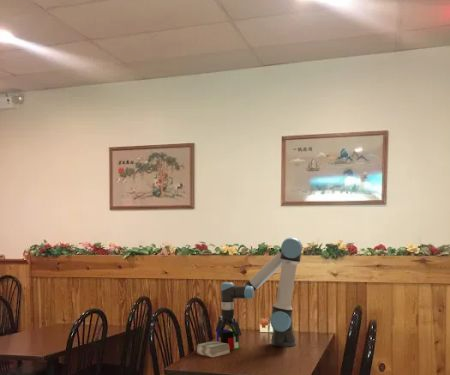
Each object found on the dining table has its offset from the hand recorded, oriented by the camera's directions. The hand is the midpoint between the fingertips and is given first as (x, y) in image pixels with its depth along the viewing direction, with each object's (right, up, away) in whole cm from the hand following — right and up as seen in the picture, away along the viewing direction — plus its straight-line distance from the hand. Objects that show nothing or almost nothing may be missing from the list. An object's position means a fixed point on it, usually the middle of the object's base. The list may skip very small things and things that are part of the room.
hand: (228, 346), depth 278 cm
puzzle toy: (0, -1, 0) cm, 1 cm away
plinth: (-9, 0, -13) cm, 15 cm away
